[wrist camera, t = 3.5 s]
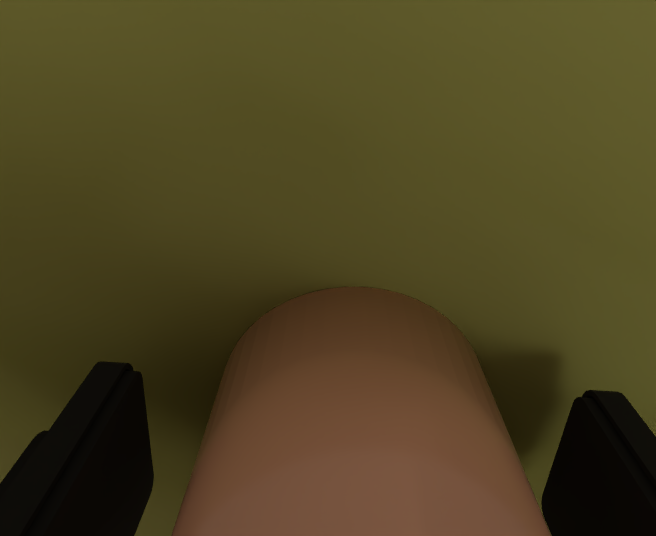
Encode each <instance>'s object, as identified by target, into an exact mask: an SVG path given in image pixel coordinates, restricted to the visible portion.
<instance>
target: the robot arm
mask: <svg viewBox="0 0 656 536" xmlns="http://www.w3.org/2000/svg"><path fill="white" fill-rule="evenodd" d="M153 479H154V474H153V465H152V456H151V448H150V439H149V431H148V422H147V413H146V405H145V396H144V388H143V379H142V374H141V373H140V372H137V371H133V367H132V366H131V364H129V363H116V362H98V363H97V364H96V365H95V366H94V367H93V368H92V370H91V371H90V373H89V374H88V376H87V377H86V378H85V380H84V381H83V383H82V384H81V386H80V387H79V388H78V390H77V391H76V393H75V394H74V395H73V397H72V398H71V400H70V401H69V403H68V404H67V405H66V407H65V408H64V410H63V411H62V412H61V414H60V415H59V417H58V418H57V420H56V421H55V422H54V424H53V425H52V427H51V428H50V429H49V431H42V432H41V433H39V434H37V436H36V437H35V438H34V439H33V440H32V441H31V442H30V444H29V445H28V447H27V448H26V449H25V451H24V452H23V453H22V455H21V456H20V457H19V459H18V460H17V462H16V463H15V464H14V466H13V467H12V468H11V470H10V471H9V473H8V474H7V475H6V477H5V478H4V479H3V481H2V482H1V484H0V536H134V535H135V532H136V530H137V527H138V525H139V522H140V520H141V517H142V515H143V512H144V510H145V507H146V504H147V502H148V499H149V497H150V494H151V491H152V487H153ZM542 511H543V515H544V518H545V521H546V523H547V525H548V528H549V530H550V533H551V535H552V536H656V437H655V435H654V434H653V433H652V431H651V430H650V429H649V427H648V426H647V425H646V423H645V422H644V421H643V420H642V418H641V417H640V416H639V414H638V413H637V412H636V410H635V409H634V408H633V406H632V405H631V404H630V403H629V401H628V400H627V399H626V397H625V396H624V395H623V394H622V393H619V392H613V391H596V390H588V391H586V392H585V393H584V394H583V396H582V397H578V398H576V399H575V400H574V402H573V404H572V407H571V410H570V413H569V416H568V419H567V422H566V425H565V429H564V432H563V435H562V438H561V441H560V444H559V447H558V450H557V453H556V456H555V459H554V462H553V465H552V468H551V471H550V474H549V477H548V480H547V483H546V486H545V489H544V492H543V495H542Z"/></svg>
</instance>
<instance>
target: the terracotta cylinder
mask: <svg viewBox="0 0 656 536" xmlns="http://www.w3.org/2000/svg"><path fill="white" fill-rule="evenodd" d="M172 536H551V535H550V532H549V530H548V527H547V525H546V523H545V520H544V518H543V515H542V513H541V511H540V508H539V506H538V503H537V501H536V498H535V496H534V494H533V491H532V489H531V486H530V484H529V482H528V479H527V477H526V474H525V472H524V469H523V467H522V465H521V462H520V460H519V457H518V455H517V453H516V450H515V448H514V445H513V443H512V440H511V438H510V436H509V433H508V431H507V428H506V426H505V424H504V421H503V419H502V416H501V414H500V411H499V409H498V407H497V404H496V402H495V399H494V397H493V395H492V392H491V390H490V387H489V385H488V382H487V380H486V378H485V375H484V373H483V370H482V368H481V366H480V363H479V361H478V358H477V356H476V354H475V352H474V350H473V348H472V347H471V345H470V343H469V341H468V340H467V339H466V338H465V336H464V335H463V334H462V332H461V331H460V330H459V329H458V328H457V327H456V326H455V325H454V324H453V323H452V322H451V321H450V320H449V319H448V318H446V317H445V316H444V315H442V314H441V313H439V312H438V311H437V310H435V309H434V308H432V307H430V306H428V305H426V304H424V303H422V302H421V301H419V300H416V299H414V298H411V297H408V296H406V295H403V294H400V293H396V292H392V291H388V290H384V289H377V288H368V287H340V288H331V289H324V290H320V291H315V292H311V293H307V294H304V295H302V296H299V297H296V298H293V299H291V300H289V301H287V302H285V303H283V304H281V305H279V306H277V307H275V308H273V309H272V310H271V311H269V312H268V313H266V314H265V315H263V316H262V317H260V318H259V319H258V320H257V321H256V322H255V323H254V324H253V325H252V326H251V327H249V328H248V330H247V331H246V332H245V333H244V334H243V336H242V337H241V338H240V339H239V341H238V342H237V344H236V346H235V347H234V349H233V351H232V352H231V354H230V357H229V359H228V362H227V364H226V367H225V370H224V373H223V376H222V379H221V383H220V386H219V389H218V392H217V395H216V398H215V401H214V404H213V408H212V411H211V414H210V417H209V420H208V423H207V426H206V429H205V432H204V436H203V439H202V442H201V445H200V448H199V451H198V454H197V457H196V461H195V464H194V467H193V470H192V473H191V476H190V479H189V482H188V486H187V489H186V492H185V495H184V498H183V501H182V504H181V507H180V511H179V514H178V517H177V520H176V523H175V526H174V529H173V532H172Z"/></svg>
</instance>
